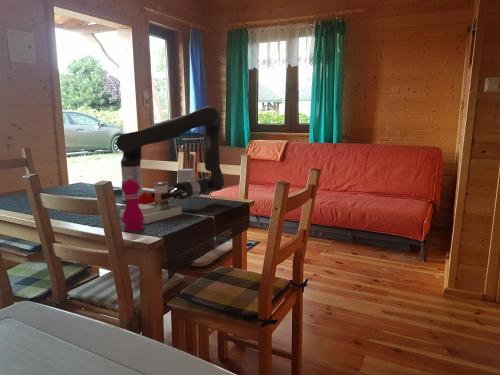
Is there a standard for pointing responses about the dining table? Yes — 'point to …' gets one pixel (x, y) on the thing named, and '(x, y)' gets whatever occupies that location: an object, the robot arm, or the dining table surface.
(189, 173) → the supplement box
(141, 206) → the off-white tapered piece
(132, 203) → the pepper mill
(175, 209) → the tote
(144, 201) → the tomato
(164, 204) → the clear lidded jar
